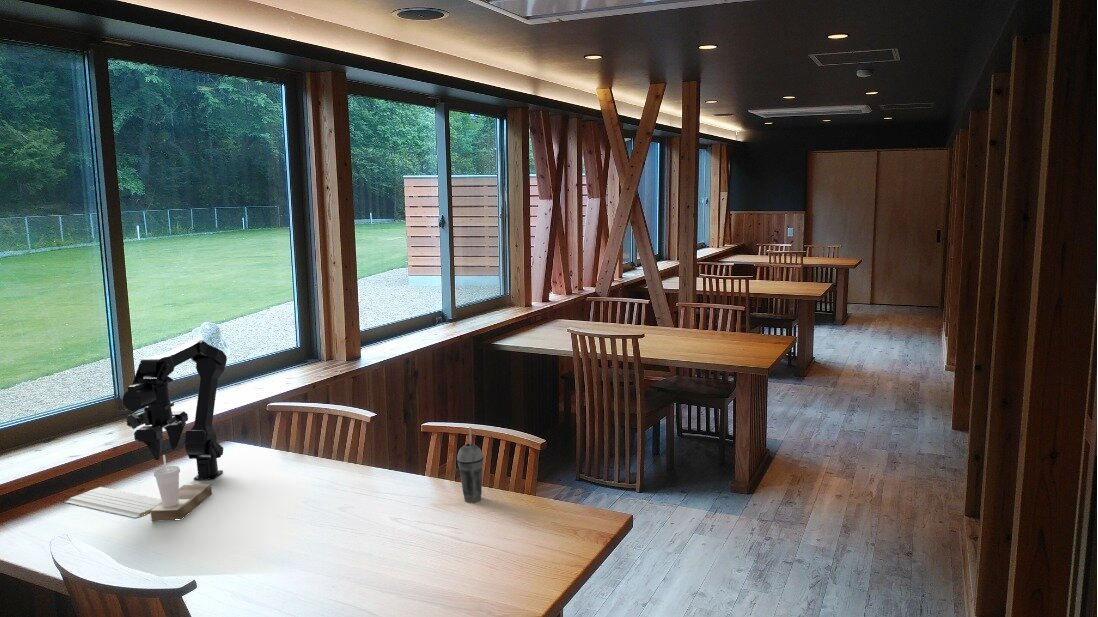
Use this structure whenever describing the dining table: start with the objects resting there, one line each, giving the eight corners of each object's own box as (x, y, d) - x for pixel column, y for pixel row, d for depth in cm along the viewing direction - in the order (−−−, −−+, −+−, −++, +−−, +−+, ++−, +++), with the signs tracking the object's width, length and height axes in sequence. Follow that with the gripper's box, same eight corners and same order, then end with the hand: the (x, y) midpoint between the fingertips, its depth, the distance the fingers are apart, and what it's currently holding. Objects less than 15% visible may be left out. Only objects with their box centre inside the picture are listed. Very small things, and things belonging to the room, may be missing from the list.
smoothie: (153, 510, 206) (147, 459, 204) (163, 500, 212) (157, 451, 210) (178, 508, 206) (172, 457, 204) (187, 498, 212) (181, 449, 210)
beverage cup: (454, 503, 209) (449, 431, 206) (467, 493, 215) (462, 423, 212) (478, 506, 206) (474, 433, 203) (490, 495, 213) (486, 425, 210)
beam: (184, 494, 224) (183, 484, 224) (212, 494, 224) (210, 483, 224) (150, 521, 206) (149, 510, 205) (180, 520, 206) (178, 509, 205)
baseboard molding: (131, 523, 208) (170, 506, 218) (129, 512, 207) (169, 496, 218) (60, 506, 222) (100, 491, 232) (58, 497, 221) (99, 482, 232)
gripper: (148, 393, 228) (155, 445, 230) (111, 411, 209) (119, 467, 211) (185, 392, 227) (192, 443, 230) (152, 409, 209) (159, 465, 211)
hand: (165, 454), depth 220 cm, fingers open, 9 cm apart
